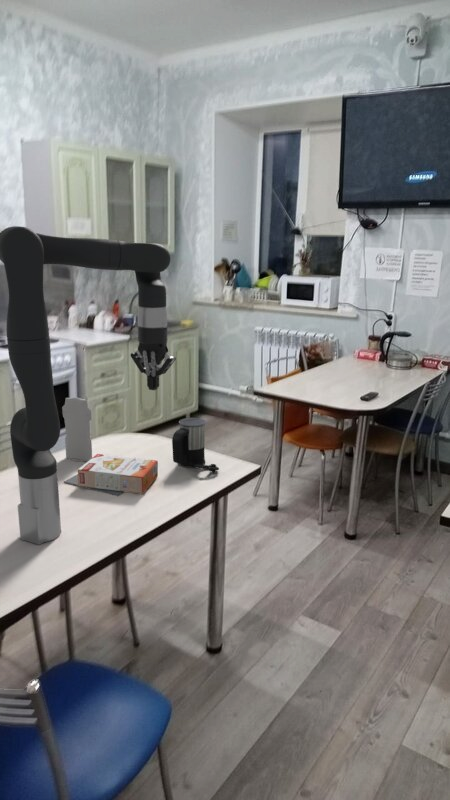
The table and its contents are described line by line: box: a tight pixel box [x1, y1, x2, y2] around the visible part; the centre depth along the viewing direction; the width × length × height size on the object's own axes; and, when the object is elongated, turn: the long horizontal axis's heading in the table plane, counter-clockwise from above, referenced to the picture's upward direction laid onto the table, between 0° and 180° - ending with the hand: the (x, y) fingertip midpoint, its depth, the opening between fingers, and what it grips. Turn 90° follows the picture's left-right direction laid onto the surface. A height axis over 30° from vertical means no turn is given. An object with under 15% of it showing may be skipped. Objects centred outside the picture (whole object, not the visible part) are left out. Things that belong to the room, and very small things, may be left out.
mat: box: [63, 473, 124, 497], centre depth 181 cm, size 22×20×1 cm
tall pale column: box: [61, 397, 93, 463], centre depth 190 cm, size 11×4×22 cm, turn 75°
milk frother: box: [171, 417, 220, 473], centre depth 188 cm, size 14×16×15 cm
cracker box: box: [77, 453, 159, 495], centre depth 175 cm, size 14×6×21 cm
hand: (153, 389), depth 150 cm, fingers closed
